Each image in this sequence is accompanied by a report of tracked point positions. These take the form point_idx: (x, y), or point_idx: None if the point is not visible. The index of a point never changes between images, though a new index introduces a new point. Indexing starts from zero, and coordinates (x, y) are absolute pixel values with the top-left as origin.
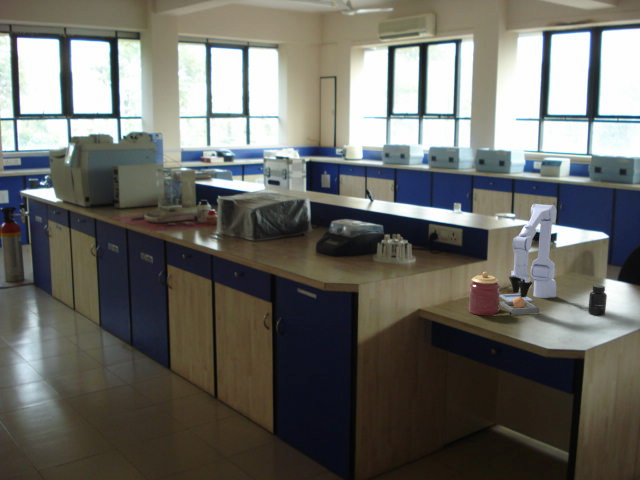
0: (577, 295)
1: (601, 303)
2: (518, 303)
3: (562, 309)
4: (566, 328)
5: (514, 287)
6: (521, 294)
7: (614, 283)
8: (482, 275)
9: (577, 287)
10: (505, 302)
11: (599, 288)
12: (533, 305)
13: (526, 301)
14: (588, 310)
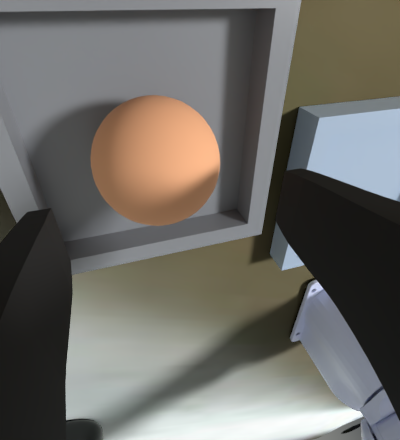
0: (303, 379)
1: None
2: (95, 141)
3: (138, 352)
4: None
5: (333, 217)
6: (3, 239)
7: (347, 417)
8: None
9: None
10: (269, 38)
11: None
12: (121, 258)
13: (239, 233)
14: (68, 433)
